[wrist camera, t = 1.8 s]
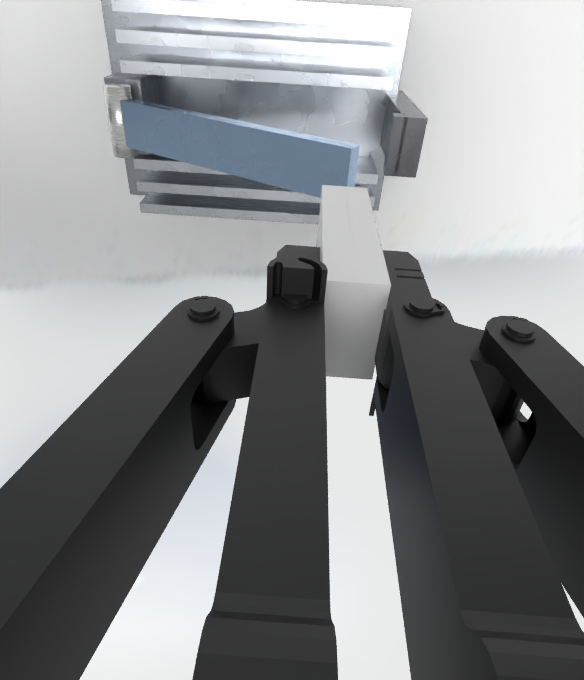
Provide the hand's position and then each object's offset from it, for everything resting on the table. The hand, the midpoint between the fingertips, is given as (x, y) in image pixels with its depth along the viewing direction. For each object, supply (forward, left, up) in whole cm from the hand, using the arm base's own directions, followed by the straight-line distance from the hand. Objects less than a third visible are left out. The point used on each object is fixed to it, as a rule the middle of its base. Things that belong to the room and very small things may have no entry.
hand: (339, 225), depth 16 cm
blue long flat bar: (-5, 0, -10) cm, 11 cm away
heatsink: (-5, 0, -20) cm, 20 cm away
